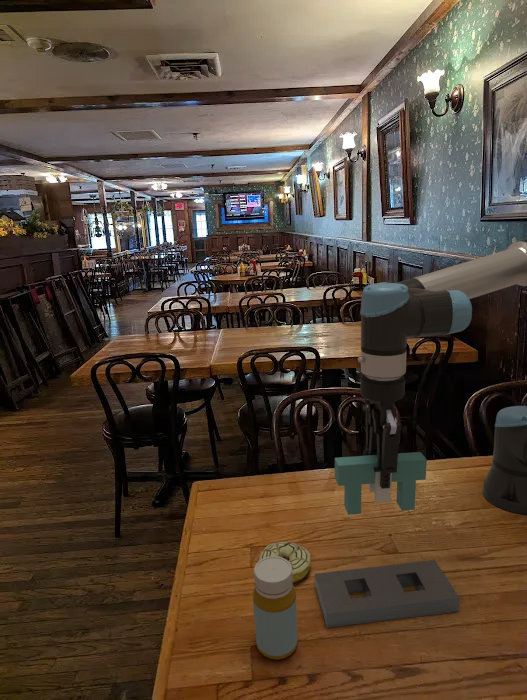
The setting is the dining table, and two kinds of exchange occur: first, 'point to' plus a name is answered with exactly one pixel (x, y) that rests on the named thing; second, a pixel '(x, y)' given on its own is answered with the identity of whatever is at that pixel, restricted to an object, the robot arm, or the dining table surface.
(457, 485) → the dining table surface
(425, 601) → the slotted metal plate
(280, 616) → the bottle
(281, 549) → the decorated donut
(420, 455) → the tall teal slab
